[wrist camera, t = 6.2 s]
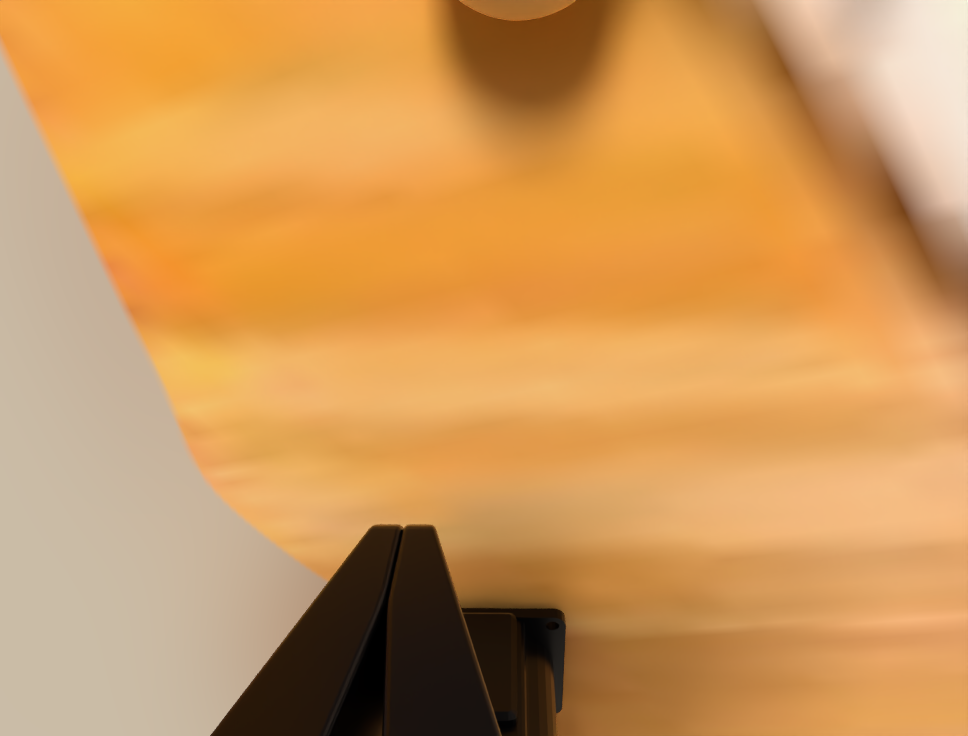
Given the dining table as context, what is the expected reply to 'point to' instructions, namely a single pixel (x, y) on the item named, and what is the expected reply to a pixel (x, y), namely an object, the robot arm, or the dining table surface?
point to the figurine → (517, 8)
